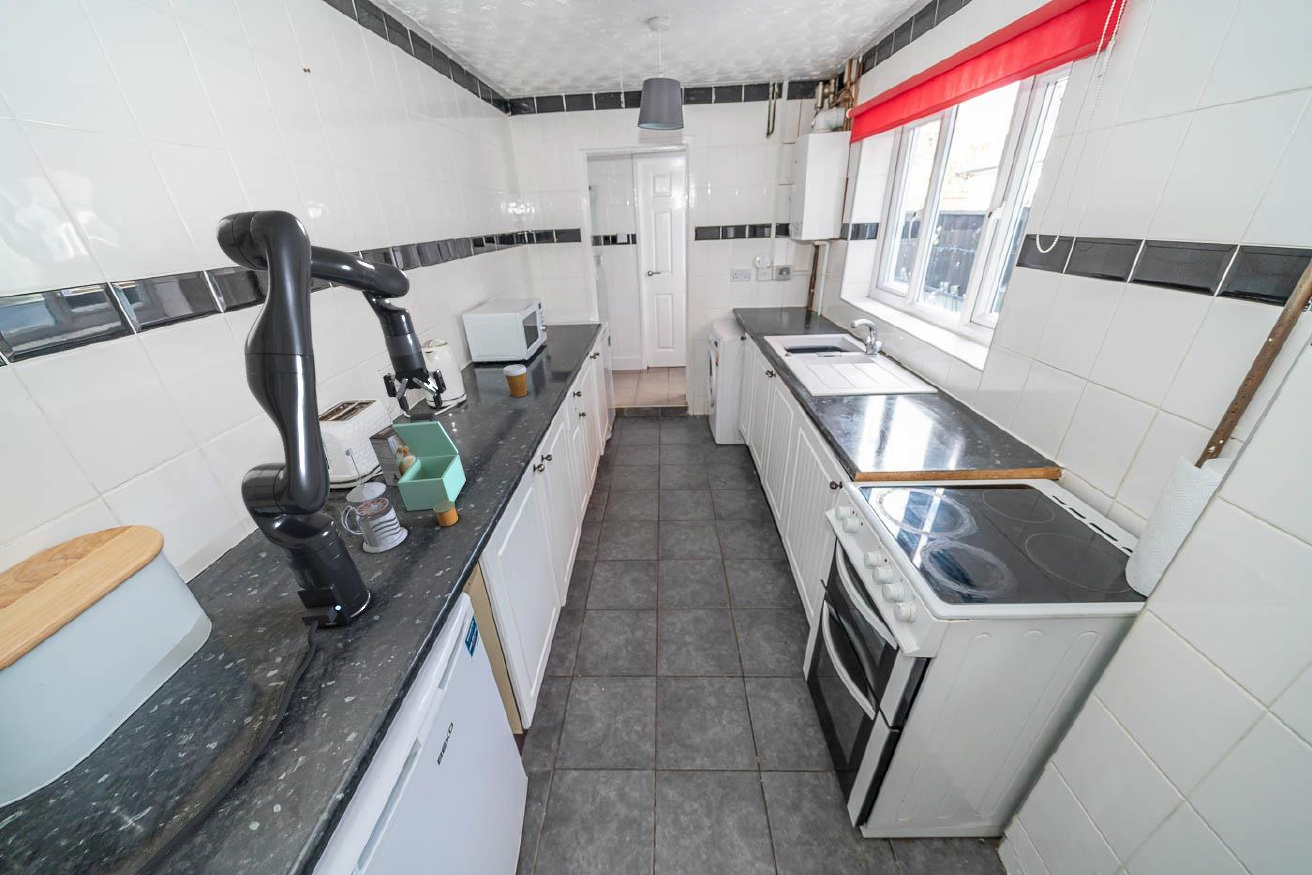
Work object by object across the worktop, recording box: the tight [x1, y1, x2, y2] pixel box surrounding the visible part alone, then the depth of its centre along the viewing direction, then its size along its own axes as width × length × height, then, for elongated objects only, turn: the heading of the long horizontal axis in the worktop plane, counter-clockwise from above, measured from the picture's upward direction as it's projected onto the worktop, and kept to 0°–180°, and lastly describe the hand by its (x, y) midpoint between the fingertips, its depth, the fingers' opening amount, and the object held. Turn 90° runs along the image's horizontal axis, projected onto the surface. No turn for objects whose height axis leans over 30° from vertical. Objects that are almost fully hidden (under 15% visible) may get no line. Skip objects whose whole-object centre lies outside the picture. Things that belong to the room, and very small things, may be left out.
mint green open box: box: [397, 453, 467, 512], centre depth 125 cm, size 14×12×9 cm
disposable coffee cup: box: [502, 364, 528, 398], centre depth 193 cm, size 10×10×12 cm
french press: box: [340, 448, 408, 554], centre depth 104 cm, size 10×12×25 cm
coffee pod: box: [433, 501, 459, 527], centre depth 115 cm, size 5×5×4 cm
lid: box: [392, 412, 459, 457], centre depth 125 cm, size 14×12×6 cm
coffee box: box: [368, 423, 420, 487], centre depth 133 cm, size 9×6×16 cm
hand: (422, 409), depth 122 cm, fingers open, 8 cm apart
